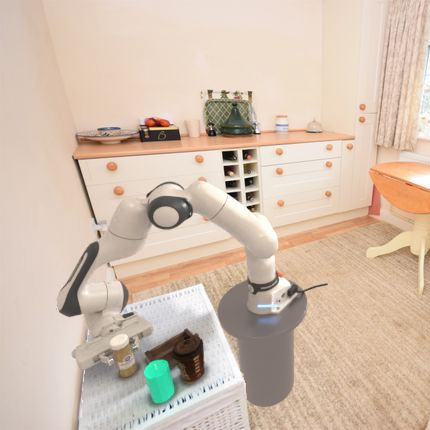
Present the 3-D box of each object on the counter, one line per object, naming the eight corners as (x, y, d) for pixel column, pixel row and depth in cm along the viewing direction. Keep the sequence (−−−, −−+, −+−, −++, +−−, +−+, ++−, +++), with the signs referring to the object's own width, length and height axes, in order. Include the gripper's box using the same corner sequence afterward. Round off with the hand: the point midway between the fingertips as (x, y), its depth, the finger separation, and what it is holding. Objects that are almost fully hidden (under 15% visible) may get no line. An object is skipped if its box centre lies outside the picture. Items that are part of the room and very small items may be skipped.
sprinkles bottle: (128, 379, 88) (117, 347, 83) (116, 375, 89) (105, 343, 84) (141, 366, 92) (131, 335, 87) (130, 362, 93) (119, 331, 88)
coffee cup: (190, 359, 95) (184, 329, 90) (213, 364, 94) (208, 334, 88) (172, 383, 87) (164, 352, 82) (197, 389, 86) (191, 358, 81)
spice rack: (188, 335, 104) (185, 320, 101) (201, 349, 99) (198, 334, 96) (146, 359, 94) (141, 344, 92) (158, 377, 89) (153, 361, 86)
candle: (147, 395, 84) (138, 366, 79) (167, 379, 88) (160, 351, 84) (158, 407, 81) (149, 378, 76) (178, 391, 85) (171, 362, 81)
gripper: (66, 343, 87) (78, 371, 79) (141, 308, 101) (157, 329, 93) (73, 358, 89) (85, 387, 81) (145, 322, 104) (161, 343, 95)
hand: (124, 355), depth 87 cm, fingers open, 5 cm apart
